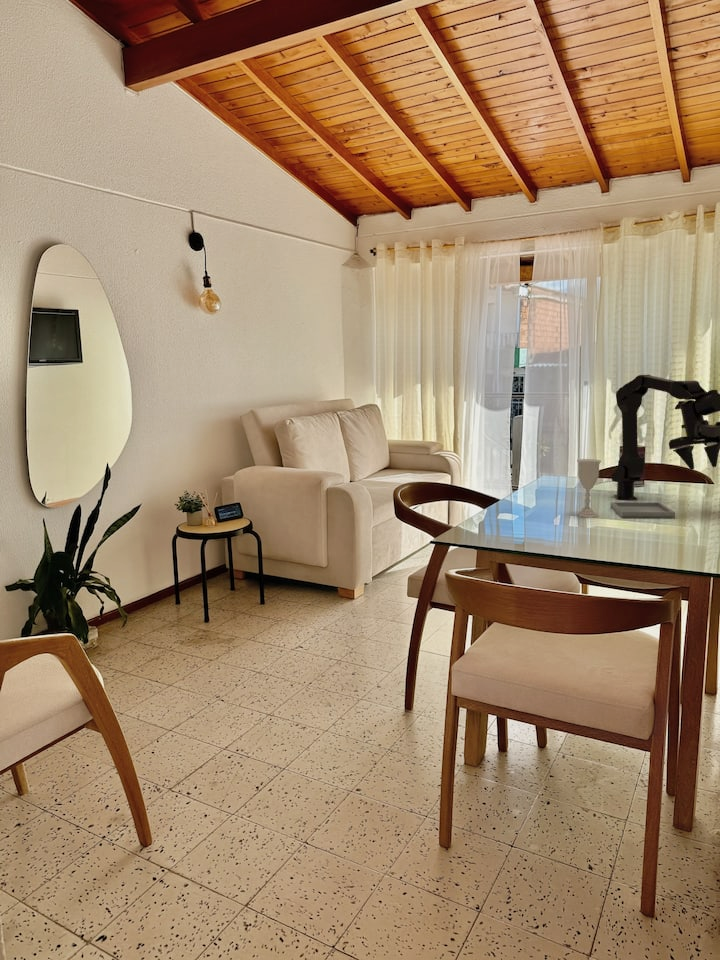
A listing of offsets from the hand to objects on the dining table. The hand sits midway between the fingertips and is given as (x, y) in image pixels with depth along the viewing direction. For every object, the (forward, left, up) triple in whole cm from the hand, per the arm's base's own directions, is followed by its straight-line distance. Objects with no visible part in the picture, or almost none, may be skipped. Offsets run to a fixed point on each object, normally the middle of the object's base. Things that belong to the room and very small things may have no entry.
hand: (703, 468), depth 211 cm
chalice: (-1, -34, -16) cm, 38 cm away
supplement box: (-52, -7, -16) cm, 55 cm away
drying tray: (-5, -16, -16) cm, 23 cm away
